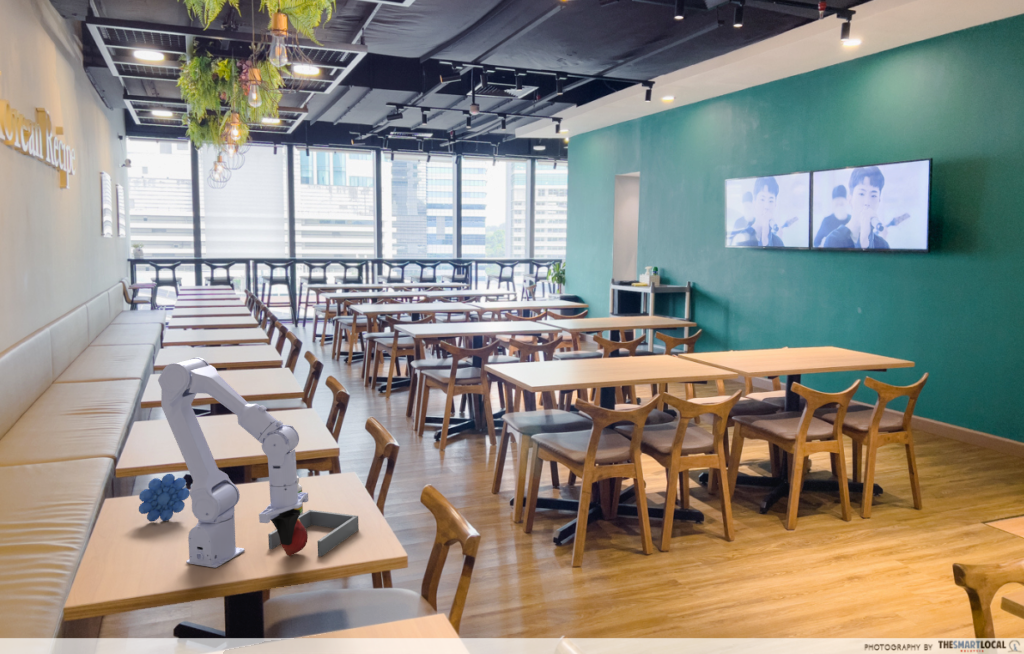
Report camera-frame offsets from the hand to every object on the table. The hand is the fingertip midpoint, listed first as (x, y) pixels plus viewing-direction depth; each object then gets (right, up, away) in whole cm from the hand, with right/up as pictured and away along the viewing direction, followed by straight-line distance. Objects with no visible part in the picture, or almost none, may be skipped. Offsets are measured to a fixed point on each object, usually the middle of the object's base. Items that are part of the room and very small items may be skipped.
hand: (286, 544), depth 154 cm
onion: (0, -3, +2) cm, 4 cm away
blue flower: (-38, -2, +24) cm, 45 cm away
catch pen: (+3, -3, +12) cm, 12 cm away
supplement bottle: (-8, -1, +28) cm, 29 cm away
